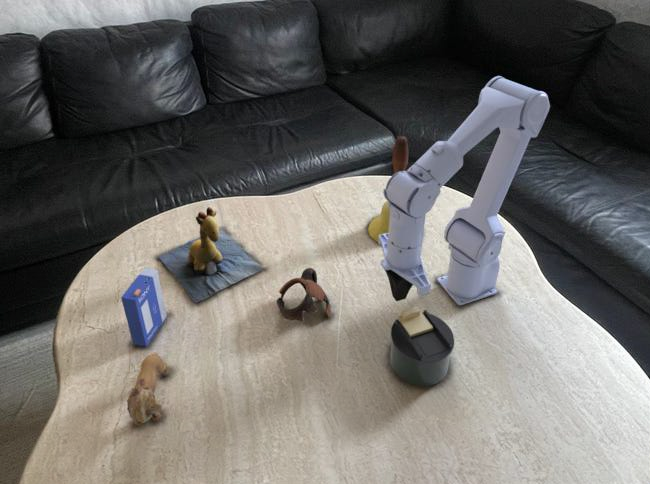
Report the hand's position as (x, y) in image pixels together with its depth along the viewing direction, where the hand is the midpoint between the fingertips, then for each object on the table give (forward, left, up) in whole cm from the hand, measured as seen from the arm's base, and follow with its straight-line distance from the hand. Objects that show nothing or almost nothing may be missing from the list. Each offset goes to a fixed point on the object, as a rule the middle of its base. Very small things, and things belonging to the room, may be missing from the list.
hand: (399, 297), depth 93 cm
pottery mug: (+14, -11, -8) cm, 19 cm away
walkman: (+43, -17, -8) cm, 47 cm away
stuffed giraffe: (+29, -31, -8) cm, 43 cm away
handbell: (-14, -26, -8) cm, 31 cm away
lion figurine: (+44, -1, -8) cm, 45 cm away
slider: (0, +6, -1) cm, 6 cm away
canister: (0, +8, -8) cm, 11 cm away
